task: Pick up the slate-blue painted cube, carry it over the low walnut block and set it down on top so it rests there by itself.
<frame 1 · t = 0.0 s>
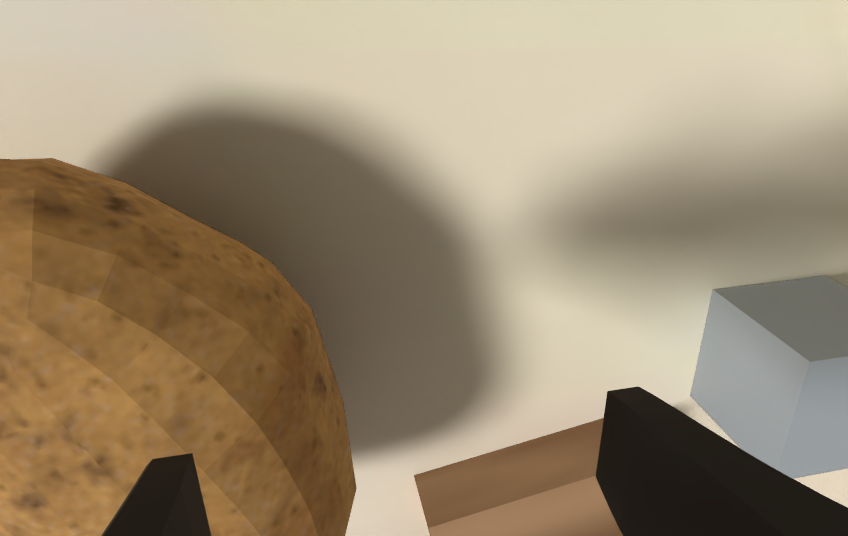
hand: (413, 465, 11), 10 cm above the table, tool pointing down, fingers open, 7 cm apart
cube: (755, 336, 25), on the table
potato: (165, 312, 20), on the table
walnut block: (530, 511, 28), on the table
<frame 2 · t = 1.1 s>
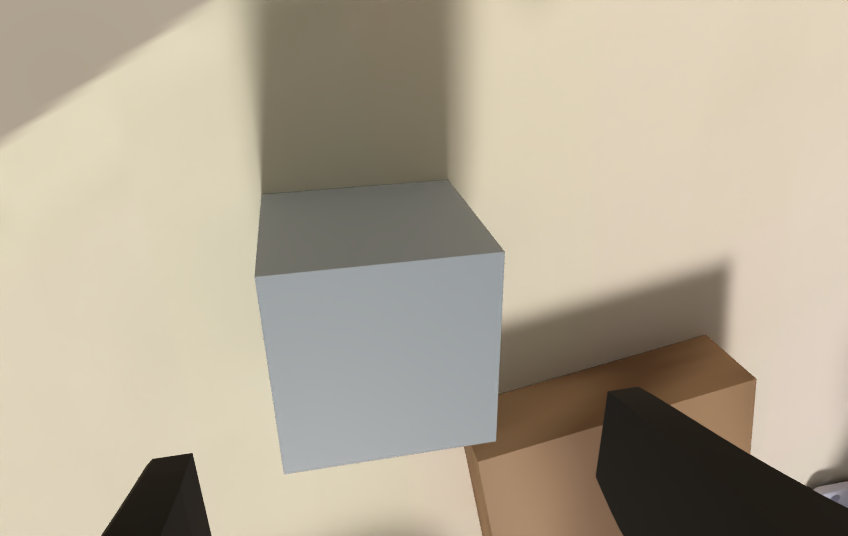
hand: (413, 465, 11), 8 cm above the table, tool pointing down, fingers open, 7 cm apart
cube: (362, 269, 18), on the table
walnut block: (586, 458, 24), on the table
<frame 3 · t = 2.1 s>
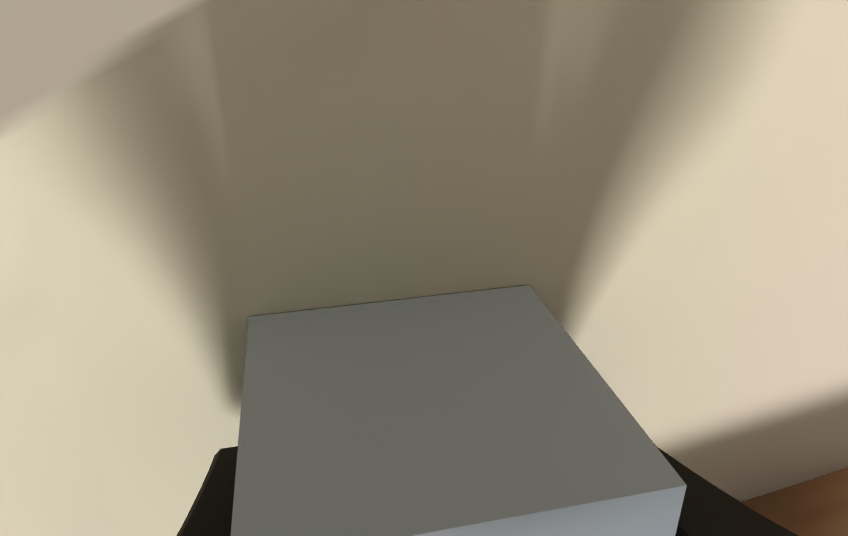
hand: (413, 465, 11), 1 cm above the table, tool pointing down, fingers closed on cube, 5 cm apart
cube: (399, 413, 12), on the table, touching gripper
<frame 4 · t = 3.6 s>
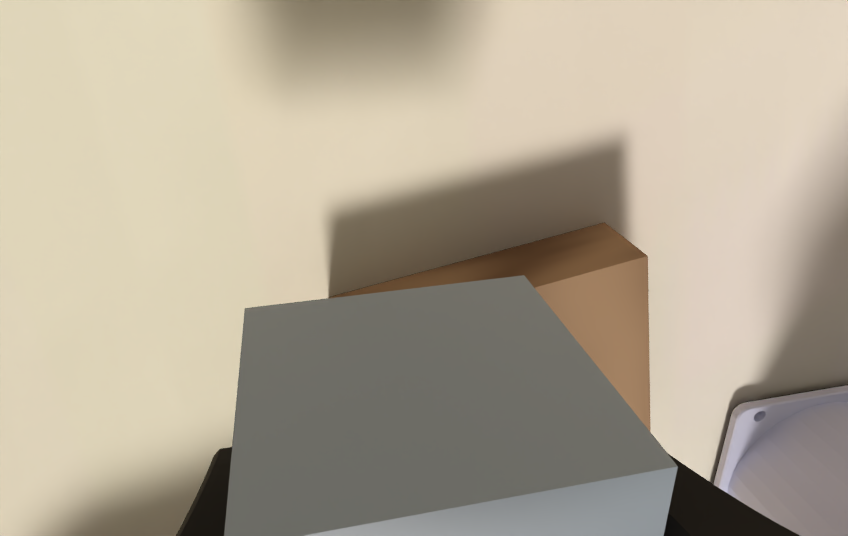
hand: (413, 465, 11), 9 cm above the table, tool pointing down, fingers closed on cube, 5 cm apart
cube: (396, 404, 12), point 7 cm above the table, touching gripper
walnut block: (485, 366, 22), on the table
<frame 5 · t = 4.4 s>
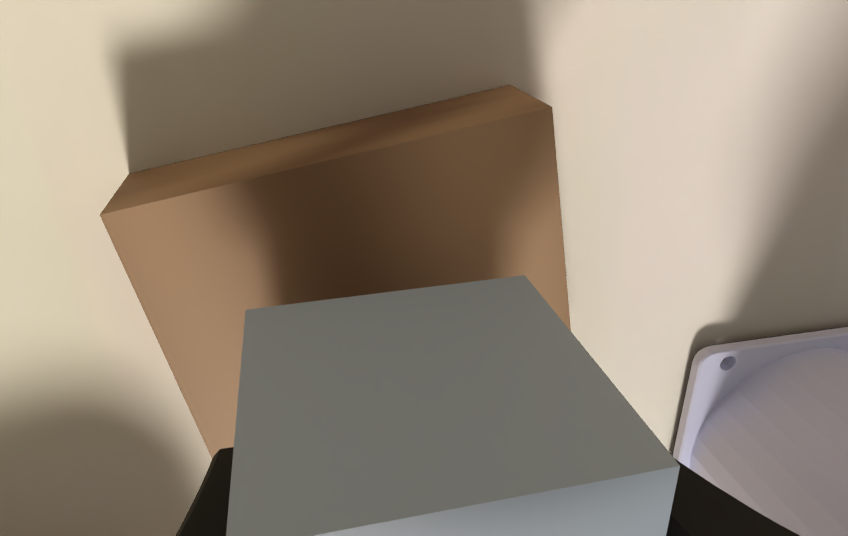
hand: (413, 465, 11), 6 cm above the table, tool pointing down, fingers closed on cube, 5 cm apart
cube: (397, 405, 12), point 5 cm above the table, touching gripper
walnut block: (366, 286, 17), on the table
when the fingers open (6 cm above the table, at t = 5.0 s): cube drops 2 cm, resting on walnut block.
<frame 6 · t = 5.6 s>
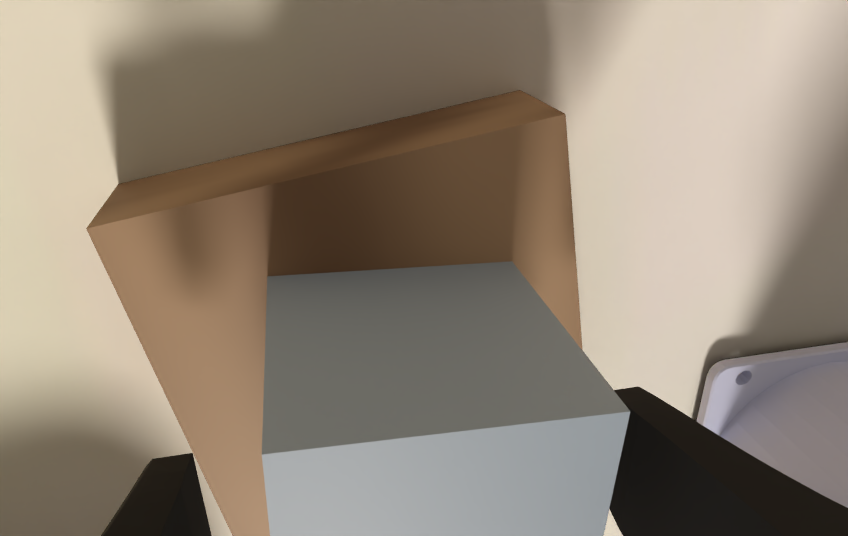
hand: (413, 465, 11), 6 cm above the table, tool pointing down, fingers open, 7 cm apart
cube: (393, 371, 14), point 2 cm above the table, touching walnut block
walnut block: (368, 298, 16), on the table, touching cube
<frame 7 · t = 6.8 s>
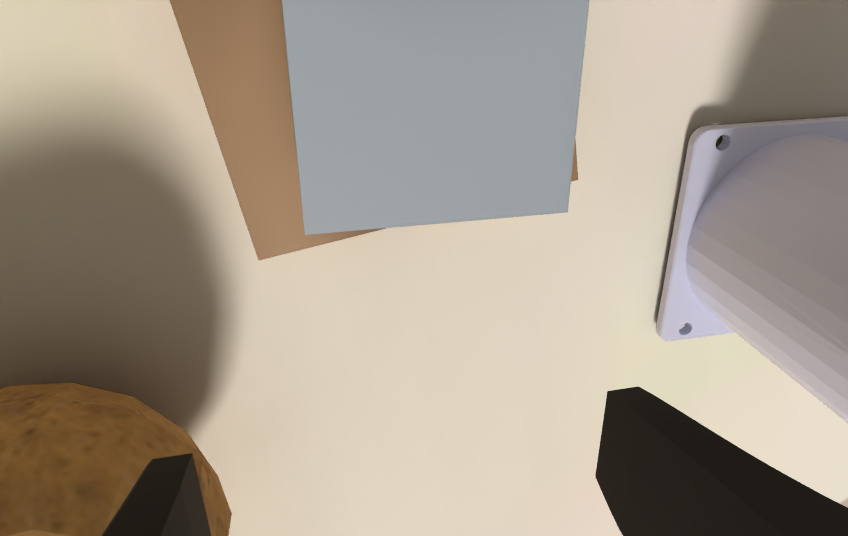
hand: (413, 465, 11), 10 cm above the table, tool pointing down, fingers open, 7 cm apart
cube: (393, 48, 15), point 3 cm above the table
potato: (36, 462, 21), on the table
walnut block: (372, 35, 18), on the table
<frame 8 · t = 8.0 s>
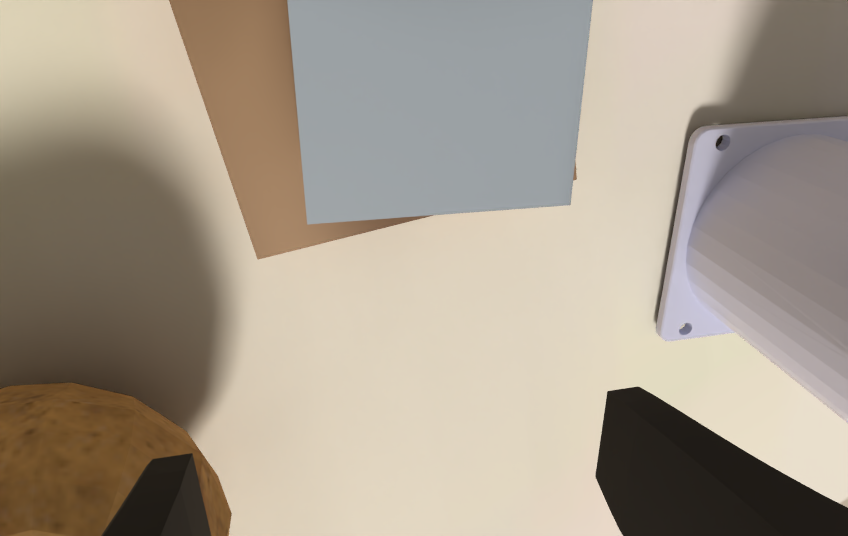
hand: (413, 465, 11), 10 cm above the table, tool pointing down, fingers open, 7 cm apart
cube: (397, 41, 15), point 2 cm above the table, touching walnut block
potato: (36, 462, 21), on the table
walnut block: (371, 35, 18), on the table, touching cube
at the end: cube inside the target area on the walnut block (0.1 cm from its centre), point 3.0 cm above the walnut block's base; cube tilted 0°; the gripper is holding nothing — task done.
